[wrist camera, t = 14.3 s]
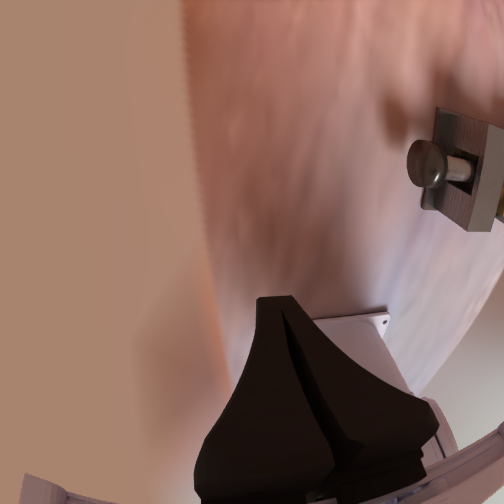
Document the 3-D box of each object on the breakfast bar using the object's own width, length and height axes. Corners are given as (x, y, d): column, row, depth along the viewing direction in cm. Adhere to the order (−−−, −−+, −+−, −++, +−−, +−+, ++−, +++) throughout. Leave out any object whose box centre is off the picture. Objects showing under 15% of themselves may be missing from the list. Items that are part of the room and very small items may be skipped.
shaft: (518, 164, 18) (541, 175, 15) (512, 194, 19) (533, 207, 16) (410, 135, 16) (437, 145, 14) (404, 178, 18) (429, 193, 15)
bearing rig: (518, 137, 17) (552, 151, 13) (502, 213, 21) (532, 234, 17) (436, 107, 16) (479, 116, 12) (421, 207, 20) (456, 234, 16)
